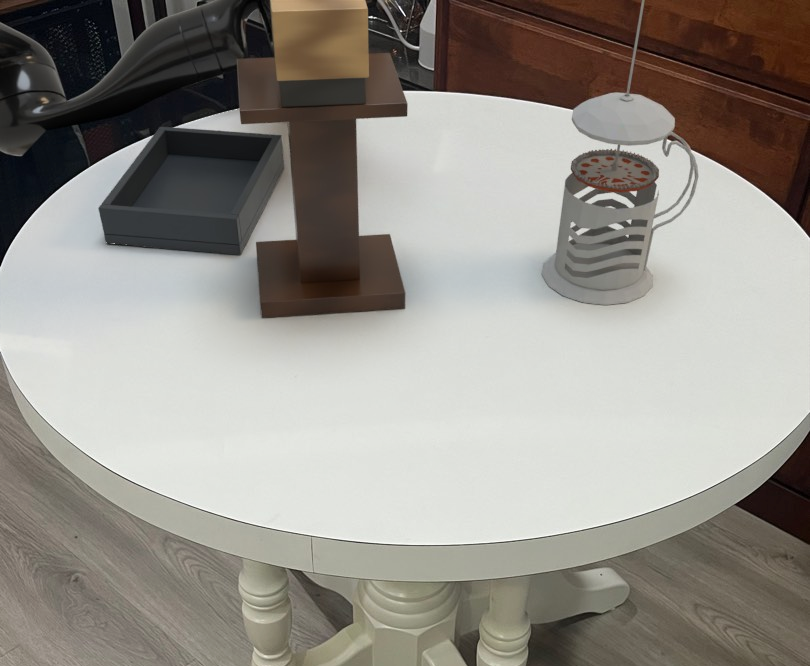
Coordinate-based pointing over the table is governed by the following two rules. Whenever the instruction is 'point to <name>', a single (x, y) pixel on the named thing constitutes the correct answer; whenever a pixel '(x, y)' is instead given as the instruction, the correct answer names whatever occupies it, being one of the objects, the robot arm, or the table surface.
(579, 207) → the french press
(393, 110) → the stand
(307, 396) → the table surface
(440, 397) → the table surface
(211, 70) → the robot arm
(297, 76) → the brush
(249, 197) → the tray
